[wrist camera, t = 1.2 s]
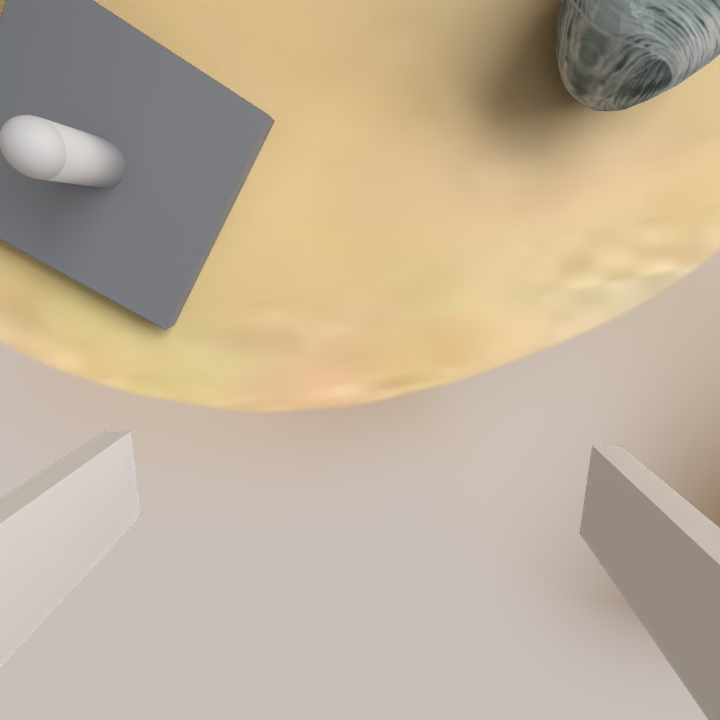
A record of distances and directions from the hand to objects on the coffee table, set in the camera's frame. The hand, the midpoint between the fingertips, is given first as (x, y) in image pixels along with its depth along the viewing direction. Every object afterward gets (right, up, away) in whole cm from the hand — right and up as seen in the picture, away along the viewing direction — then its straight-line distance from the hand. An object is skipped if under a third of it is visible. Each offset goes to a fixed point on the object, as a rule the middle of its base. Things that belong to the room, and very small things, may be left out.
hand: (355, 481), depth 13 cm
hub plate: (-16, +17, +17) cm, 29 cm away
